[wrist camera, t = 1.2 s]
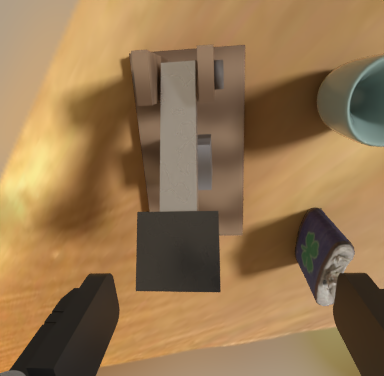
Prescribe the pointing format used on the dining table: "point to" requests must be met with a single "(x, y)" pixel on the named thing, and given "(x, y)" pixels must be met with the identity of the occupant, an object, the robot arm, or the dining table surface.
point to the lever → (178, 199)
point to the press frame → (199, 126)
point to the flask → (322, 254)
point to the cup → (355, 100)
